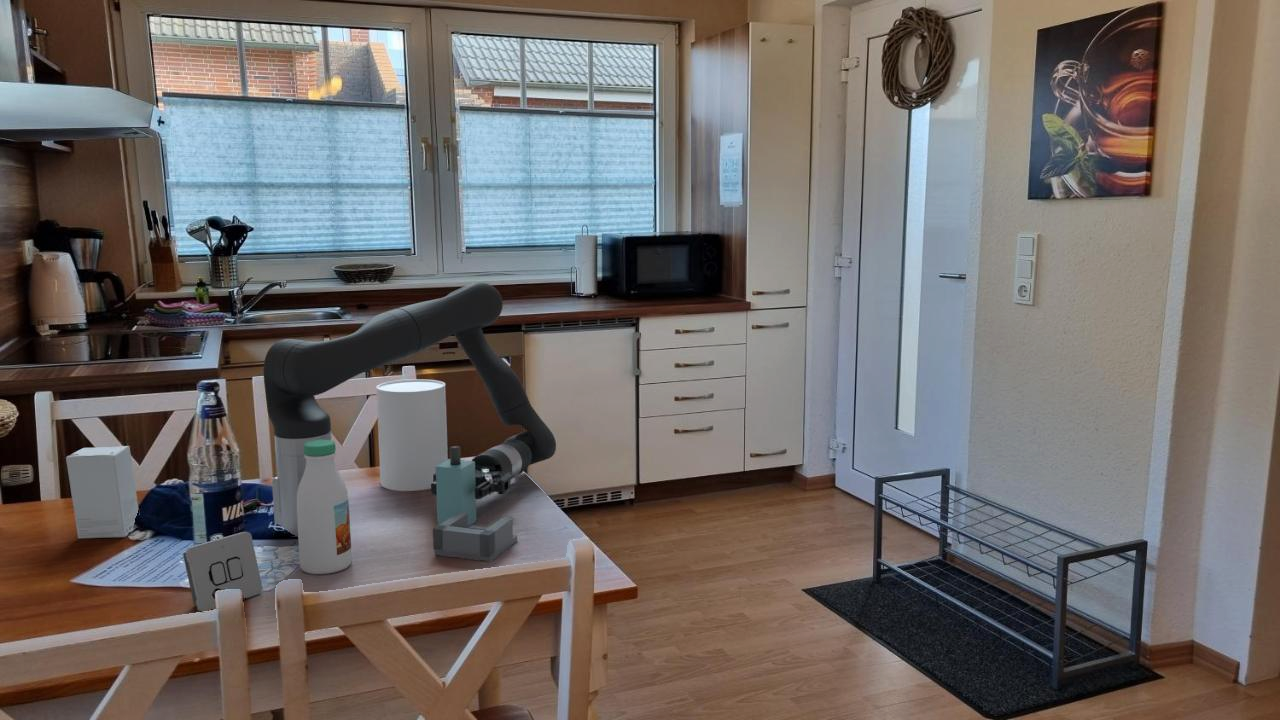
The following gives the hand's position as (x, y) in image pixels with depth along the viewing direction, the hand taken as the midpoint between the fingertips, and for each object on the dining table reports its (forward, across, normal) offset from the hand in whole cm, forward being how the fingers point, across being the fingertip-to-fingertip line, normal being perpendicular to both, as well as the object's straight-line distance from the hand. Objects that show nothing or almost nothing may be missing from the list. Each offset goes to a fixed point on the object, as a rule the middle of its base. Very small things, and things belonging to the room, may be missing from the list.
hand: (455, 491), depth 166 cm
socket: (+9, +9, +6) cm, 14 cm away
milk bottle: (+24, -10, +6) cm, 26 cm away
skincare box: (+22, -55, +6) cm, 60 cm away
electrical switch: (+39, -16, +6) cm, 43 cm away
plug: (0, 0, +6) cm, 6 cm away
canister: (-21, -21, +6) cm, 30 cm away
